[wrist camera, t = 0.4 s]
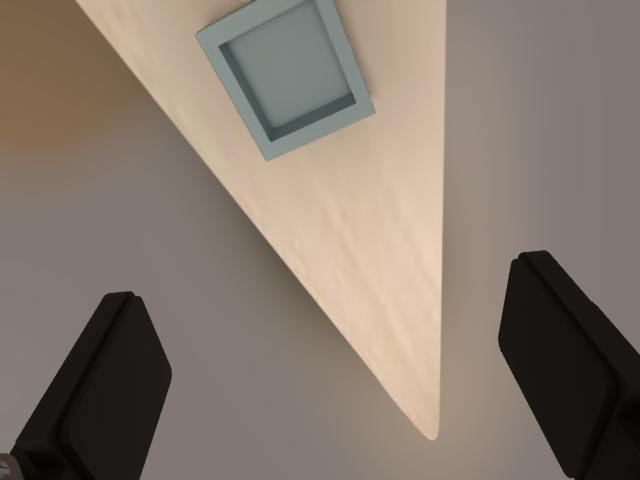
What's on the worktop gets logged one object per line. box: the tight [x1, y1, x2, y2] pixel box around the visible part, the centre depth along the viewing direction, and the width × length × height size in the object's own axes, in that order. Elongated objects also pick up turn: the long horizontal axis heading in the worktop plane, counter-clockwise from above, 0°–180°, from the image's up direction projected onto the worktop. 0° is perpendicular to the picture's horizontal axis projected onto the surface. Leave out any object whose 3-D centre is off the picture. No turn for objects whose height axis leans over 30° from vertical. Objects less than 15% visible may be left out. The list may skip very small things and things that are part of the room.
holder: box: [194, 0, 376, 162], centre depth 38 cm, size 12×11×4 cm
